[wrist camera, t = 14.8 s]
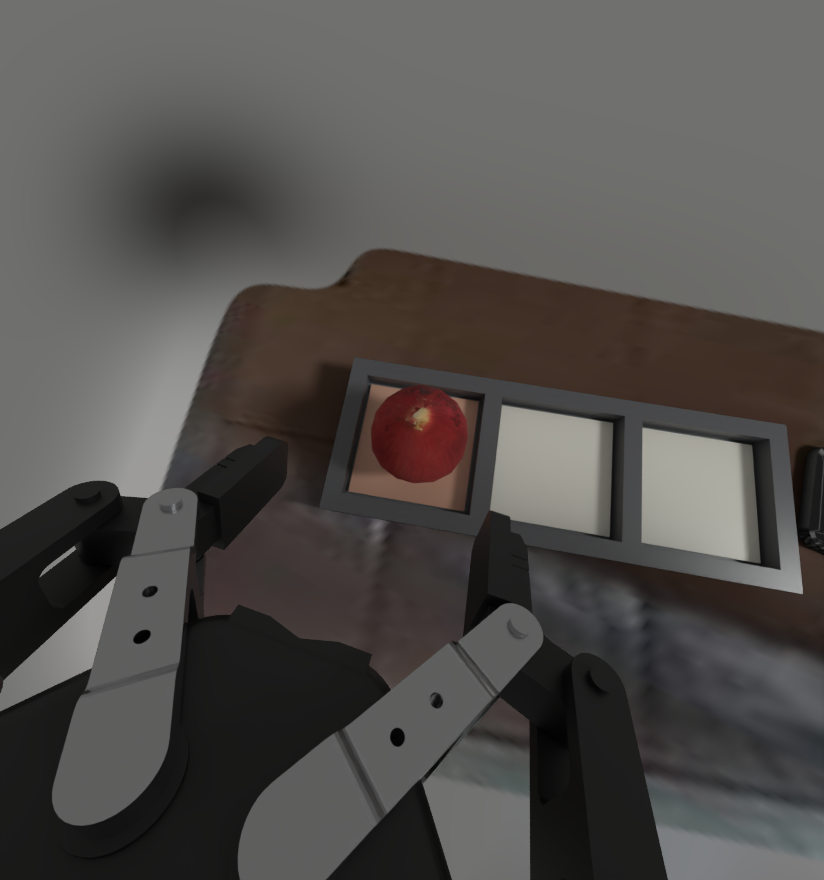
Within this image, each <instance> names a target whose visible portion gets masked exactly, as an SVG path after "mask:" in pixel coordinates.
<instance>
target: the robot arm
mask: <svg viewBox="0 0 824 880" xmlns="http://www.w3.org/2000/svg"><path fill="white" fill-rule="evenodd" d="M287 456H288V445H287V443H286V442H284V441H281V440H278V439H275V438H272V437H268V436H267V437H264V438H263V439H262V440H261V441H259V442H258V443H257V444H256V445H254V446H253V445H250V444H249V445H246V446H244V447H241V448H238V449H236V450H234V451H233V452H232V453H230V454H229V455H228V456H226V458H225V459H222V460H221V461H220V462H219V463H217V465H215V466H213V467H212V468H211V469H209V470H208V471H207V472H205V473H204V474H203V475H201V476H200V477H199V478H197V479H196V480H195V481H193V482H192V483H191V484H190V485H188V486H187V487H186V488H184V489H183V488H171V489H166V490H162V491H160V492H157V493H155V494H153V495H152V496H151V497H149V498H137V497H125V496H120V493H119V490H118V487H117V486H116V485H115V484H113V483H111V482H107V481H90V482H85V483H81V484H78V485H75V486H73V487H71V488H68V489H67V490H65V491H63V492H62V493H60V494H58V495H57V496H55V497H53V498H52V499H50V500H48V501H47V502H45V503H43V504H42V505H40V506H38V507H37V508H35V509H34V510H32V511H30V512H28V513H27V514H25V515H24V516H22V517H21V518H19V519H17V520H15V521H14V522H12V523H10V524H9V525H7V526H5V527H4V528H2V529H0V693H1V690H2V687H3V680H4V679H5V678H6V677H7V676H9V675H10V674H11V673H12V672H13V671H14V670H15V669H16V668H17V667H18V666H19V665H20V664H22V663H23V662H24V661H25V660H26V659H27V658H28V657H29V656H30V655H31V654H32V653H33V652H35V650H37V649H38V648H39V647H40V646H41V645H42V644H43V643H44V642H45V641H46V640H48V639H49V638H50V637H51V636H52V635H53V634H54V633H55V632H56V631H57V630H58V629H59V628H60V627H62V626H63V625H64V624H65V623H66V622H67V621H68V620H69V619H70V618H71V617H72V616H74V614H76V613H77V612H78V611H79V610H80V609H81V608H82V607H83V606H84V605H85V604H86V603H88V602H89V601H90V600H91V599H92V598H93V597H94V596H95V595H96V594H97V593H98V592H99V591H101V590H102V589H103V588H104V587H105V586H106V585H107V584H108V583H109V582H110V581H111V580H112V579H114V577H116V576H117V577H116V581H115V584H114V588H113V592H112V596H111V599H110V603H109V607H108V610H107V614H106V618H105V622H104V626H103V629H102V633H101V637H100V641H99V644H98V648H97V652H96V656H95V659H94V663H93V667H92V669H89V670H87V671H85V672H83V673H81V674H78V675H76V676H74V677H72V678H70V679H68V680H66V681H64V682H62V683H60V684H57V685H55V686H53V687H51V688H49V689H47V690H45V691H43V692H41V693H39V694H36V695H34V696H32V697H30V698H28V699H26V700H24V701H22V702H20V703H18V704H15V705H13V706H11V707H9V708H7V709H5V710H3V711H0V880H452V878H451V875H450V872H449V869H448V865H447V862H446V859H445V856H444V852H443V849H442V846H441V842H440V839H439V836H438V833H437V830H436V826H435V823H434V820H433V816H432V813H431V810H430V807H429V803H428V800H427V797H426V794H425V790H424V787H423V784H424V783H425V782H426V781H427V779H428V778H429V777H430V776H431V775H432V774H433V773H434V772H435V771H436V769H437V768H438V767H439V766H440V765H441V764H442V763H443V762H444V760H445V759H446V758H447V757H448V756H449V755H450V753H451V752H452V751H453V750H454V749H455V748H456V746H457V745H458V744H459V743H460V742H461V741H462V739H463V738H464V737H465V736H466V735H467V734H468V733H469V731H470V730H471V729H472V728H473V727H474V726H475V725H476V724H477V723H478V721H479V720H480V719H481V718H482V717H483V716H484V715H485V714H486V712H487V711H488V710H489V709H490V708H491V707H492V706H493V705H494V703H495V702H496V701H497V700H498V699H499V698H500V697H501V698H502V699H503V700H504V701H506V702H507V703H508V704H510V705H511V706H512V707H513V708H515V709H516V710H517V711H518V712H520V713H521V714H522V715H523V716H525V717H526V718H527V719H528V720H530V880H668V879H667V874H666V870H665V865H664V861H663V856H662V852H661V847H660V843H659V838H658V834H657V830H656V825H655V820H654V816H653V811H652V807H651V803H650V798H649V794H648V789H647V785H646V780H645V776H644V771H643V767H642V762H641V758H640V753H639V749H638V745H637V740H636V736H635V731H634V727H633V722H632V718H631V713H630V709H629V704H628V700H627V695H626V692H625V688H624V686H623V684H622V682H621V680H620V678H619V677H618V675H617V674H616V672H615V671H614V670H613V669H612V668H611V667H610V666H609V665H608V664H607V663H606V662H605V661H603V660H602V659H600V658H599V657H597V656H595V655H592V654H588V653H581V654H578V655H577V656H576V657H575V658H574V657H572V656H571V655H569V654H568V653H567V652H565V651H564V650H562V649H561V648H559V647H558V646H556V645H555V644H554V643H552V642H551V641H550V640H549V639H548V638H546V637H545V635H544V634H543V632H542V628H541V626H540V624H539V622H538V620H537V619H536V618H535V616H534V615H533V614H532V604H531V592H530V579H529V573H528V571H529V566H528V554H527V547H526V545H525V543H524V541H523V539H522V537H521V535H520V534H517V533H514V532H511V521H510V516H507V515H504V514H501V513H498V512H495V511H492V510H489V511H488V513H487V515H486V517H485V520H484V522H483V524H482V526H481V528H480V530H479V532H478V535H477V537H476V539H475V542H474V545H473V549H472V555H471V564H470V574H469V584H468V593H467V603H466V613H465V623H464V632H463V638H462V639H461V640H459V641H458V642H456V643H455V642H454V641H452V642H450V643H448V644H447V645H445V646H444V647H443V648H442V649H440V650H439V651H438V652H437V653H436V654H434V655H433V656H432V657H431V658H430V659H428V660H427V661H426V662H425V663H423V664H422V665H421V666H420V667H419V668H417V669H416V670H415V671H414V672H413V673H411V674H410V675H409V676H408V677H406V678H405V679H404V680H403V681H402V682H400V683H399V684H398V685H397V686H396V687H394V688H393V689H392V690H391V689H390V688H389V686H388V685H387V683H386V682H385V681H384V679H383V678H382V677H381V676H380V675H379V674H378V673H377V672H376V671H375V670H374V669H373V668H371V667H370V666H369V662H370V659H371V656H372V654H369V653H366V652H364V651H361V650H358V649H356V648H353V647H350V646H348V645H345V644H342V643H340V642H333V641H321V640H309V639H301V638H298V637H297V636H295V635H294V634H293V633H291V632H290V631H289V630H287V629H286V628H285V627H283V626H282V625H281V624H280V623H278V622H277V621H276V620H274V619H273V618H272V617H270V616H268V615H265V614H262V613H260V612H257V611H254V610H252V609H249V608H246V607H244V606H241V605H238V606H237V608H236V609H235V610H234V612H233V613H232V614H231V615H215V616H209V617H204V583H205V562H206V555H205V552H206V551H207V550H208V549H209V548H210V547H211V546H214V547H217V548H220V549H223V550H224V549H225V548H226V547H227V546H228V545H229V544H230V543H231V542H232V541H233V540H234V539H235V538H236V536H237V535H238V534H239V533H240V532H241V531H242V530H243V529H244V528H245V527H246V526H247V525H248V523H249V522H250V521H251V520H252V519H253V518H254V517H255V516H256V515H257V514H258V513H259V511H260V510H261V509H262V508H263V507H264V506H265V505H266V504H267V503H268V502H269V501H270V500H271V498H272V497H273V496H274V495H275V494H276V493H277V492H278V491H279V490H280V489H281V487H282V486H283V484H284V482H285V479H286V476H287ZM73 546H75V547H76V550H75V551H74V552H72V553H71V554H70V555H69V556H67V557H66V558H65V559H63V560H62V561H61V562H59V563H58V564H57V565H56V566H54V567H53V568H52V569H50V570H49V571H48V572H46V573H45V574H44V575H42V576H41V577H40V575H41V573H42V571H43V570H44V569H45V568H46V567H47V566H48V565H49V564H51V563H52V562H53V561H54V560H56V559H57V558H59V557H60V556H61V555H62V554H63V553H65V552H66V551H68V550H69V549H70V548H72V547H73ZM39 577H40V578H39Z"/></svg>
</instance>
